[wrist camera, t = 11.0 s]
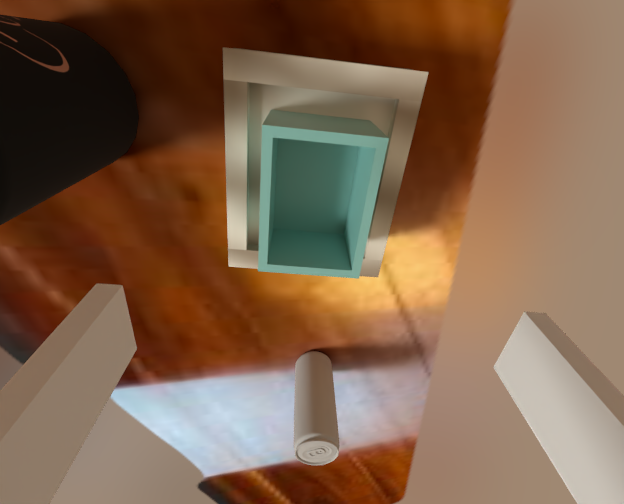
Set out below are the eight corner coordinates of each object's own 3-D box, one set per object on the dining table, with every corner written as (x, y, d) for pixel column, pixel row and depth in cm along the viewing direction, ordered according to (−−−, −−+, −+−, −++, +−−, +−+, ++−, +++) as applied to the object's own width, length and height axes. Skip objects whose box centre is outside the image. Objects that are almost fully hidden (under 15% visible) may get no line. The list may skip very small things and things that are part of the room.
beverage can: (336, 367, 45) (347, 458, 35) (305, 377, 46) (305, 470, 36) (322, 344, 43) (328, 435, 33) (289, 356, 44) (285, 448, 34)
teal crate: (271, 109, 23) (262, 124, 18) (370, 120, 24) (388, 138, 18) (266, 231, 28) (258, 271, 23) (348, 237, 28) (358, 278, 23)
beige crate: (240, 48, 26) (221, 46, 20) (401, 68, 27) (429, 71, 21) (240, 230, 34) (227, 266, 28) (365, 240, 35) (378, 277, 29)
